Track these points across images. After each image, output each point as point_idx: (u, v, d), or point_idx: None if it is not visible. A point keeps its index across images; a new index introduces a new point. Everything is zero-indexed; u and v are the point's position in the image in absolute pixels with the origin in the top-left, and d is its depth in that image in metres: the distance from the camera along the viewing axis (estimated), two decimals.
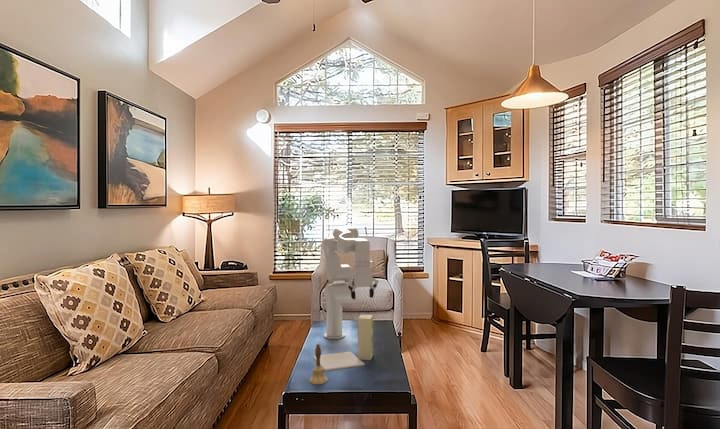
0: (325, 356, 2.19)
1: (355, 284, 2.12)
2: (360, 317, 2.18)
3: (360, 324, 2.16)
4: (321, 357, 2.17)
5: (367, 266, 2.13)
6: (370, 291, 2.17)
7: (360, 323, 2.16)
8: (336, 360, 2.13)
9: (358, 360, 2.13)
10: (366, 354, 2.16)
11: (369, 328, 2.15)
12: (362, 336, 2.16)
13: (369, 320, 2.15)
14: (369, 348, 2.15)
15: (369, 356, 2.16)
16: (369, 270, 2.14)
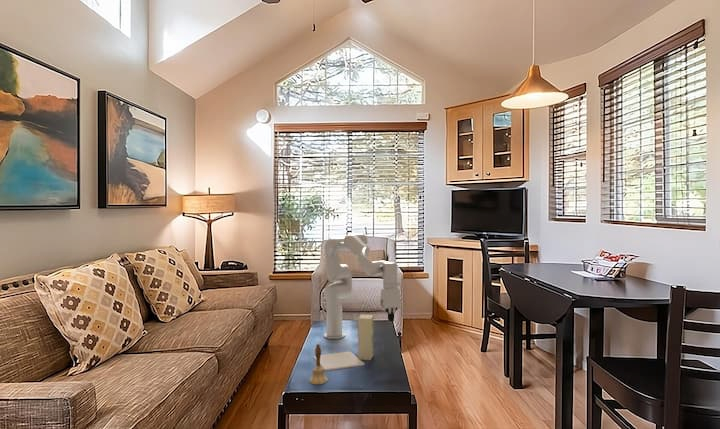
0: (325, 356, 2.19)
1: (384, 305, 2.21)
2: (360, 317, 2.18)
3: (360, 324, 2.16)
4: (321, 357, 2.17)
5: (395, 288, 2.22)
6: None
7: (360, 323, 2.16)
8: (336, 360, 2.13)
9: (358, 360, 2.13)
10: (366, 354, 2.16)
11: (369, 328, 2.15)
12: (363, 336, 2.16)
13: (369, 320, 2.15)
14: (369, 348, 2.15)
15: (369, 356, 2.16)
16: (397, 291, 2.23)
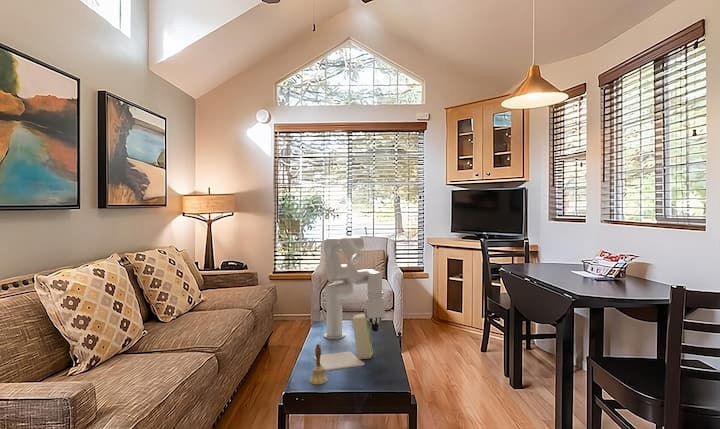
0: (325, 356, 2.19)
1: (368, 315, 2.18)
2: (354, 317, 2.19)
3: (355, 323, 2.17)
4: (321, 357, 2.17)
5: (380, 298, 2.19)
6: None
7: (355, 323, 2.17)
8: (336, 360, 2.13)
9: (358, 360, 2.13)
10: (365, 352, 2.16)
11: (365, 326, 2.16)
12: (359, 335, 2.16)
13: (364, 318, 2.16)
14: (367, 346, 2.16)
15: (368, 354, 2.16)
16: (381, 301, 2.20)
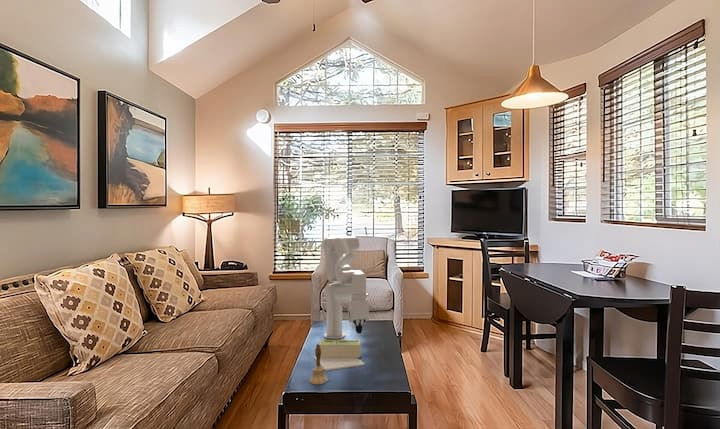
0: None
1: (351, 317, 2.15)
2: None
3: (324, 354, 2.17)
4: (321, 357, 2.17)
5: (363, 299, 2.15)
6: None
7: (324, 354, 2.17)
8: (336, 360, 2.13)
9: (358, 360, 2.13)
10: (354, 348, 2.17)
11: (328, 345, 2.17)
12: (336, 352, 2.17)
13: (320, 345, 2.18)
14: (348, 345, 2.17)
15: (356, 346, 2.17)
16: (365, 303, 2.17)
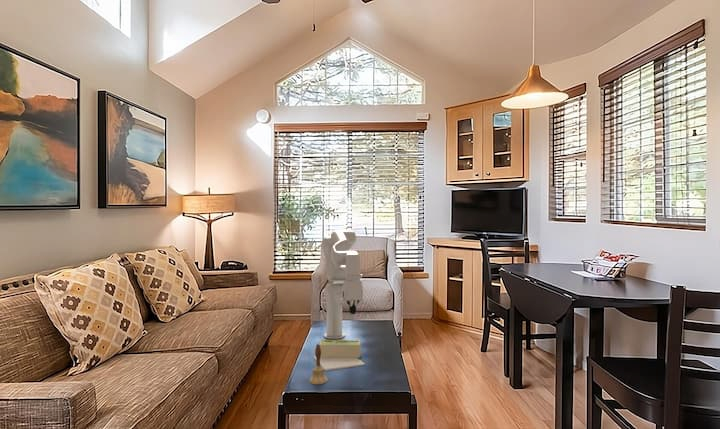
0: None
1: (345, 298, 2.14)
2: None
3: (324, 354, 2.17)
4: (321, 357, 2.17)
5: (357, 280, 2.14)
6: None
7: (324, 354, 2.17)
8: (336, 360, 2.13)
9: (358, 360, 2.13)
10: (354, 348, 2.17)
11: (328, 345, 2.17)
12: (336, 352, 2.17)
13: (320, 345, 2.18)
14: (348, 345, 2.17)
15: (356, 346, 2.17)
16: (359, 284, 2.16)
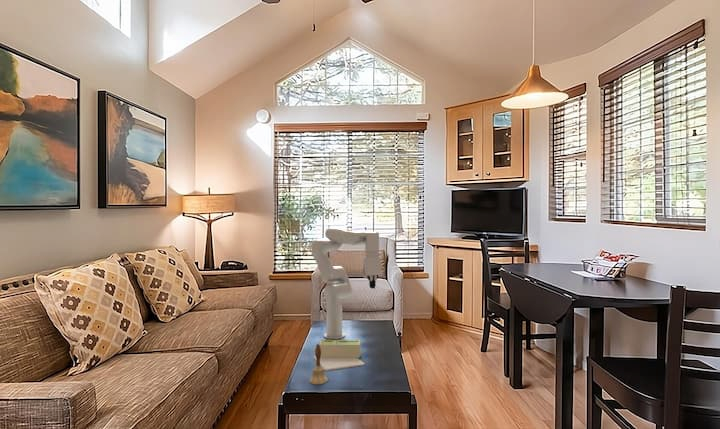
0: None
1: (366, 273, 2.30)
2: None
3: (324, 354, 2.17)
4: (321, 357, 2.17)
5: (377, 256, 2.31)
6: None
7: (324, 354, 2.17)
8: (336, 360, 2.13)
9: (358, 360, 2.13)
10: (354, 348, 2.17)
11: (328, 345, 2.17)
12: (336, 352, 2.17)
13: (320, 345, 2.18)
14: (348, 345, 2.17)
15: (356, 346, 2.17)
16: (378, 260, 2.33)
